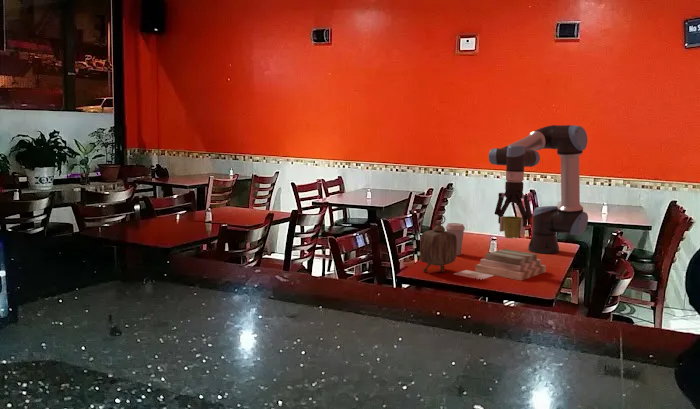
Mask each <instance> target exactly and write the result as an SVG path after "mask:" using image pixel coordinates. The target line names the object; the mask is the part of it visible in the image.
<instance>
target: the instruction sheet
mask: <svg viewBox="0 0 700 409" xmlns="http://www.w3.org/2000/svg"><path fill="white" fill-rule="evenodd" d="M453 275H456V276H461V277H466V278H470V279H475V278H476V280H479V279H480V281H482V279H483V280H486V279H488V278H492V277H494V276H495V275H490V274H485V273H480V272H475V270H474V271H473V270H469V269H465V270H464V269H463V270H462V271H459V272H455V273H453Z"/></svg>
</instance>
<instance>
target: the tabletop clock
mask: <svg viewBox="0 0 700 409" xmlns="http://www.w3.org/2000/svg"><path fill="white" fill-rule="evenodd" d="M439 217H442V218H443V221H442V222H441V221H440V220H439V221H438V222H436V219H437V218H439ZM445 222H446V216H444V215H443V214H438V215H436V216H434V218H433V223H434V224H435V226H434V227H433V229H430V230H426V231H424V232H423V233H422V234H421V235H420V240H419V241H420V242H419V256H420V261H421V262H422V263H423V264H424V263H425V264H427V265H426V268H425V267H424V268H423V272H424V273H426V272H428V268H429V267H430V266H431V265H432V266H436V267H440V269H439V272H440V273H444V269H445V265H449V264H452V263H454V262H455V261H456V258H457V255H456V252H457V238H456V235H455V234H454V233H452V232H447V231H446V227H445V226H443V225H444V224H445Z"/></svg>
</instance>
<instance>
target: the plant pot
mask: <svg viewBox="0 0 700 409" xmlns="http://www.w3.org/2000/svg"><path fill="white" fill-rule="evenodd" d="M502 219H503V223H504V231H503V232H504V237H505V238H507V239H513V238H515V239H519V238H520V235H521V234H520V230H521V219H523V218H522V216H512V215H507V216H505V217H502Z"/></svg>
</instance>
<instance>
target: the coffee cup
mask: <svg viewBox="0 0 700 409" xmlns="http://www.w3.org/2000/svg"><path fill="white" fill-rule="evenodd" d="M465 230H466V228H465V226H464V224H463V223H459V222H458V223H457V222H451V223H447V224H446V226H445V231H447V232H452V233H454V234H455V235H456V238H457V252H456V256H461V254H462V249H463V248H462V247H463V240H464V232H465Z"/></svg>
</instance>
